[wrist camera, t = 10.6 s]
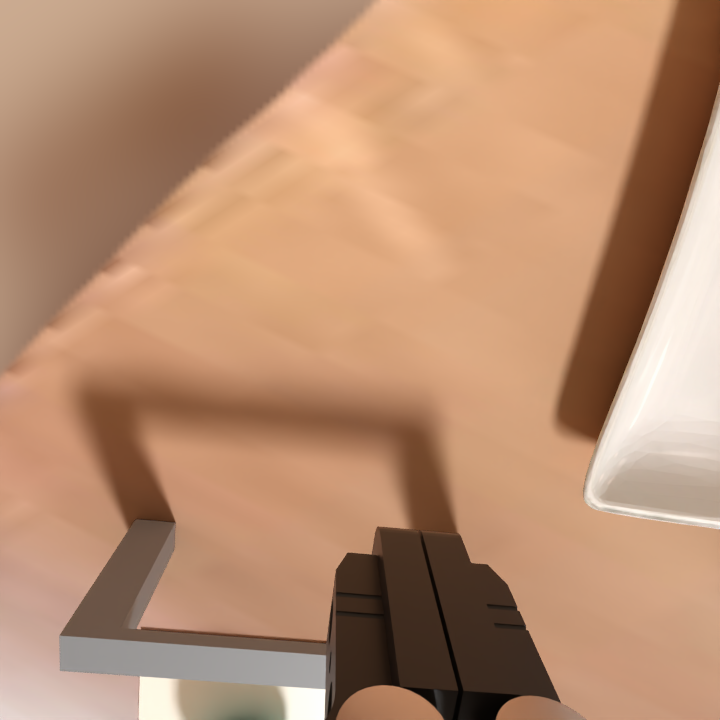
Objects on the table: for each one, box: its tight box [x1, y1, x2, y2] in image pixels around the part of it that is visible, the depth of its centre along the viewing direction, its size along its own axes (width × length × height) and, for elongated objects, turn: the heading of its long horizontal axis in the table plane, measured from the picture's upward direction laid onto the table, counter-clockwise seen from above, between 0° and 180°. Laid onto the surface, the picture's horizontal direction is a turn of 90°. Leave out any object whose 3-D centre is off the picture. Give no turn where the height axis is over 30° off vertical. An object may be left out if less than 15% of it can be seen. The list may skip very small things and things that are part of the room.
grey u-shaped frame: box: [60, 519, 326, 689], centre depth 25 cm, size 17×2×8 cm, turn 83°
